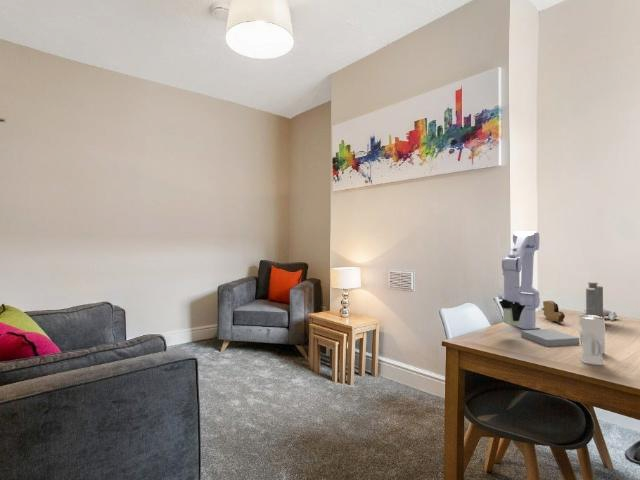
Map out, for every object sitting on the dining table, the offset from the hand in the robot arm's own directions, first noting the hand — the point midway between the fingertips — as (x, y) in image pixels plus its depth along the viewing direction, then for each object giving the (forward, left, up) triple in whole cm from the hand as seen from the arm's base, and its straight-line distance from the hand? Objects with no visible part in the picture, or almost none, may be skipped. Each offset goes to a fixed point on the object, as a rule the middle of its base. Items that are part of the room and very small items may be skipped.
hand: (511, 319), depth 150 cm
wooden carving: (-22, +39, -8) cm, 45 cm away
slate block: (+6, +12, -8) cm, 16 cm away
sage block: (0, 0, -2) cm, 2 cm away
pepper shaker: (+23, +16, -8) cm, 29 cm away
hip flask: (-11, +51, -8) cm, 53 cm away
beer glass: (+31, +6, -8) cm, 33 cm away
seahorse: (-20, +62, -8) cm, 66 cm away
